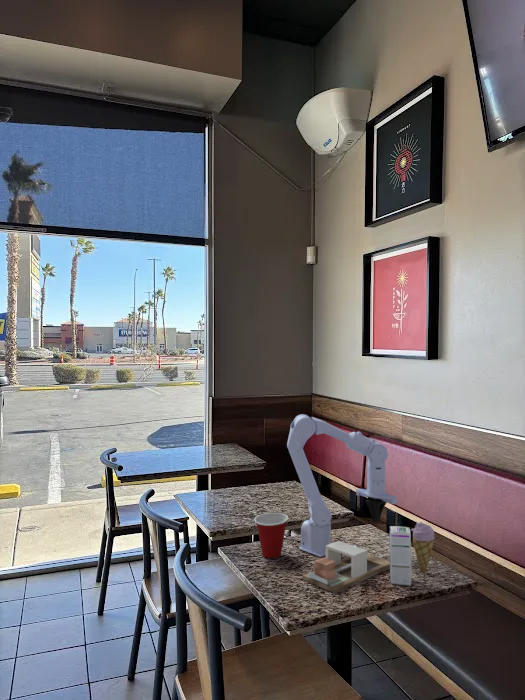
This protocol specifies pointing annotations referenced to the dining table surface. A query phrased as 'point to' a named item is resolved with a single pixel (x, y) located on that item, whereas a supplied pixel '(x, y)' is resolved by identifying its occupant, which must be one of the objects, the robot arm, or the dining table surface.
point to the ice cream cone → (423, 544)
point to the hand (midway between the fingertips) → (375, 521)
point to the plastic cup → (271, 533)
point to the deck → (373, 568)
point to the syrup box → (400, 555)
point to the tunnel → (356, 554)
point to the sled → (332, 579)
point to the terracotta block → (325, 568)
